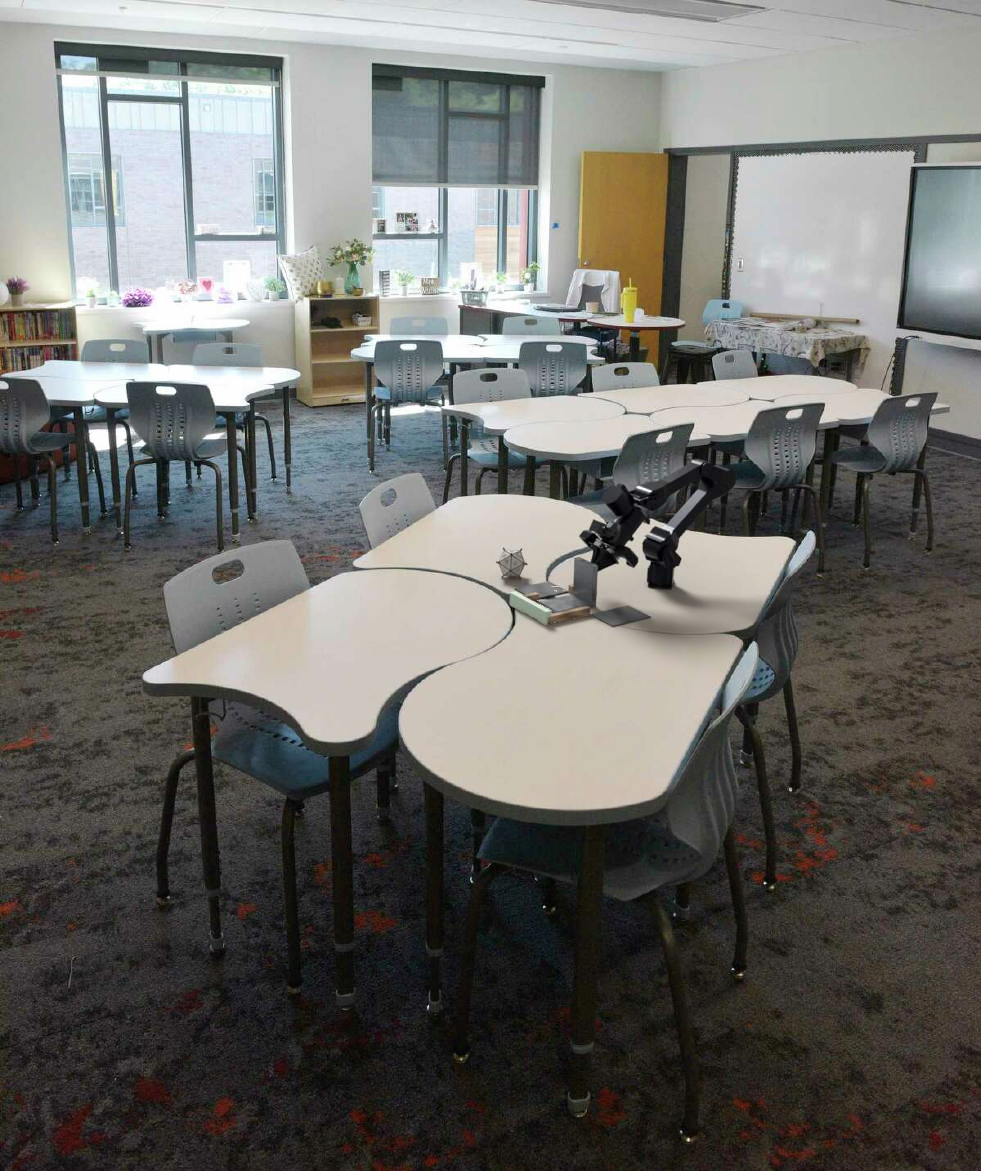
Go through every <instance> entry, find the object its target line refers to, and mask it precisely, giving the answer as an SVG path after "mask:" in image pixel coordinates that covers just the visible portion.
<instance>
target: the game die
mask: <svg viewBox="0 0 981 1171" xmlns="http://www.w3.org/2000/svg"><path fill="white" fill-rule="evenodd" d="M502 550H503V551H502V554H501V556H500V558H499V560H498V561H496V562H495V563H496V564H497V565H499V566H498V567H499V568H500V571H501V573H502V575H501V579H503V578H504V577H518V578H519V580H522V576H521V574H522V573H523V570H524V568H525V566H528V563H527V562H526V561H525V558H524V556H523V552H522V551H523V548H521V547H520V549H519V550H515V549H505V547H502Z"/></svg>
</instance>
